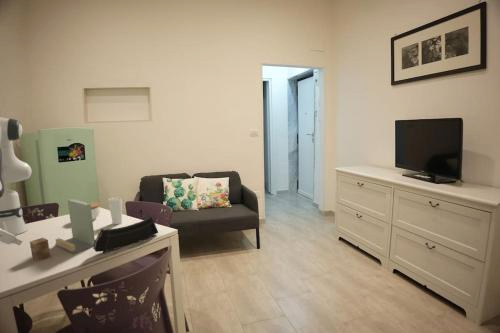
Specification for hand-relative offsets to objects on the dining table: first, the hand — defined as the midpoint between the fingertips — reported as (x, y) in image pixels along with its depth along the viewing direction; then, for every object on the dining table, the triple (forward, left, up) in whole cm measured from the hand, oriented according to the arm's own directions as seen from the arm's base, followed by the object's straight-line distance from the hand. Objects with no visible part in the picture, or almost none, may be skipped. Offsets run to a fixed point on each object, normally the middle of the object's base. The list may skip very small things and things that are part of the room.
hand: (16, 240), depth 117 cm
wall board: (+17, +14, -11) cm, 24 cm away
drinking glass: (+32, +41, -11) cm, 53 cm away
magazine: (+42, +7, -11) cm, 44 cm away
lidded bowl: (+14, +55, -11) cm, 58 cm away
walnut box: (+6, +5, -11) cm, 13 cm away
